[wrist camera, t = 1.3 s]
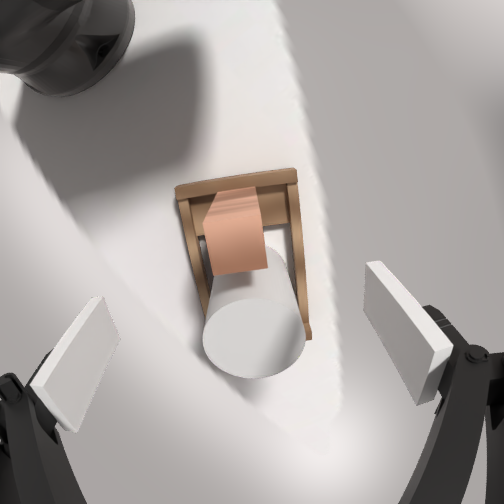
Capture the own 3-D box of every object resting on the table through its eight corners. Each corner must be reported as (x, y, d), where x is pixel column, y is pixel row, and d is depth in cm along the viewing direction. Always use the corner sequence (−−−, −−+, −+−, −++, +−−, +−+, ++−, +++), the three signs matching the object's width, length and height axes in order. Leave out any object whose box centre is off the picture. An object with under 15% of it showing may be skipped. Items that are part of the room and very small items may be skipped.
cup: (234, 316, 36) (231, 388, 25) (202, 259, 33) (183, 321, 22) (297, 291, 35) (318, 358, 24) (270, 230, 32) (283, 281, 21)
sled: (178, 185, 30) (137, 217, 18) (293, 167, 30) (325, 188, 18) (212, 336, 37) (202, 414, 25) (307, 324, 36) (329, 399, 25)
